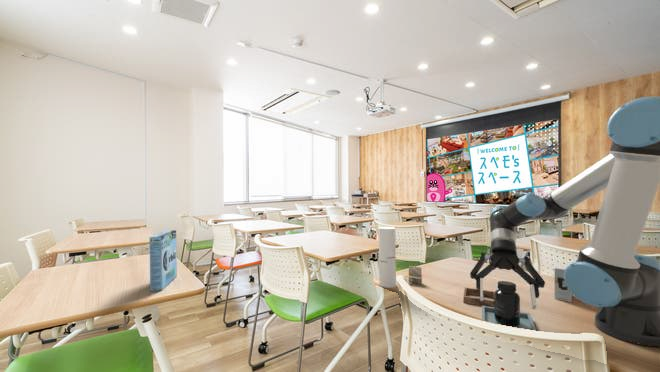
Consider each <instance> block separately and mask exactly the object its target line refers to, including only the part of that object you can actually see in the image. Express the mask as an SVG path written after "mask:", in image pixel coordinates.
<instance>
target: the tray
mask: <svg viewBox="0 0 660 372" xmlns="http://www.w3.org/2000/svg"><path fill="white" fill-rule="evenodd" d="M482 321H487V322H491V323H495V324H500V323H498V322H497V321H496V320H495V317H494V307H488V306H482V305H481V322H482ZM501 325H503V324H501ZM512 327H517V328H524V329H530V330H536V331H537V328H536V326H535V323H534V321H533V317H532V315H531V314H530V313H527V312H522V311H520V324H519V325H518V326H512Z"/></svg>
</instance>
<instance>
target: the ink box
mask: <svg viewBox="0 0 660 372" xmlns="http://www.w3.org/2000/svg"><path fill="white" fill-rule="evenodd" d="M569 265H570V264H560V263H557V264H556V265H555V267H554V273H553V274H554V299H555V300H559V301H564V302H568V303H571V302H572V299H573V297H574V295H573V294H572V293H571V292H570V290H569V288H568V287H567V285H566V283H565V280H564V273H565V270H566V268H567V267H568V266H569Z"/></svg>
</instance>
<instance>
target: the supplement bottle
mask: <svg viewBox="0 0 660 372" xmlns="http://www.w3.org/2000/svg"><path fill="white" fill-rule="evenodd" d="M494 292H495V293H494V298H493V301H494V307H493V308H494V317H495V320H496V321H497V322H498V323H500V324H503V325H506V326H518V325H519V324H520V312H521V296H520V294H519V293H518V292H517V285H516V283H515V282H511V281H507V280H499V281H497V289H496V290H495V291H494Z"/></svg>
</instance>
